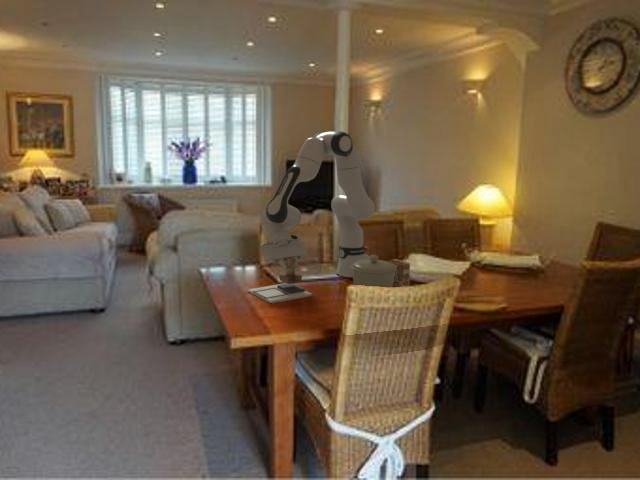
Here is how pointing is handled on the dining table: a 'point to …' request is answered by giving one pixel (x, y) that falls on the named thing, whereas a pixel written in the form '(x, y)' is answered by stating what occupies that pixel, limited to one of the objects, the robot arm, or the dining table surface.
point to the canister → (373, 272)
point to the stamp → (290, 273)
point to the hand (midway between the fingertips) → (291, 268)
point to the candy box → (401, 273)
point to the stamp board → (280, 292)
